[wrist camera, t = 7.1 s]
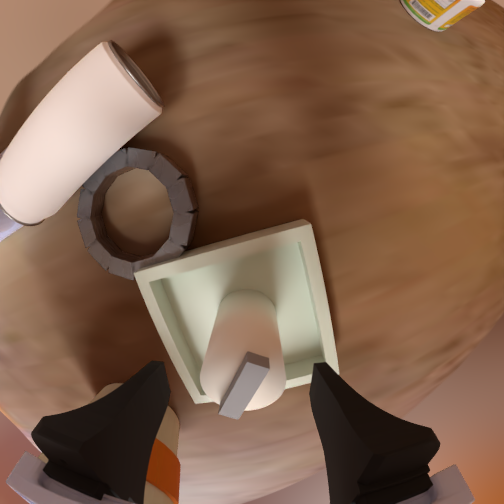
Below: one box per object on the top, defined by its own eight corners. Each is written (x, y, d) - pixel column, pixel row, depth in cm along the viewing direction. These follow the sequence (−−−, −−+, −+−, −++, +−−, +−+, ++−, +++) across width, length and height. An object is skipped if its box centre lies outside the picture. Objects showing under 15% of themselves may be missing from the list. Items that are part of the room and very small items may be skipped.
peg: (261, 347, 19) (265, 428, 11) (209, 328, 19) (187, 406, 11) (285, 301, 18) (304, 374, 10) (229, 280, 18) (213, 345, 10)
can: (124, 47, 13) (20, 155, 15) (94, 26, 8) (-26, 179, 9) (171, 109, 17) (62, 208, 18) (160, 111, 11) (27, 247, 13)
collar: (111, 283, 18) (101, 290, 17) (79, 178, 17) (66, 178, 15) (213, 254, 18) (209, 260, 16) (177, 133, 16) (170, 128, 14)
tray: (200, 383, 20) (195, 403, 18) (147, 262, 18) (133, 273, 16) (331, 355, 20) (339, 374, 17) (303, 218, 17) (311, 223, 15)
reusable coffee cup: (66, 381, 21) (-2, 471, 7) (142, 352, 20) (58, 500, 5) (137, 452, 24) (104, 544, 9) (221, 439, 22) (207, 566, 8)
